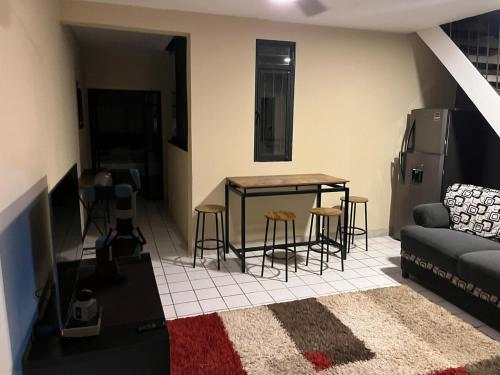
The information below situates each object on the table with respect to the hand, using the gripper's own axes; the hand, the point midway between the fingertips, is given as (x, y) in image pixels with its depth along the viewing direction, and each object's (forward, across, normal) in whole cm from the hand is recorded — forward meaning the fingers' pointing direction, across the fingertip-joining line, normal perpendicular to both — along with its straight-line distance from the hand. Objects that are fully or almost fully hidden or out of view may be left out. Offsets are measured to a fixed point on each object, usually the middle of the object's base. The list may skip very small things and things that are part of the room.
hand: (125, 258), depth 191 cm
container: (+28, -19, -1) cm, 34 cm away
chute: (+28, -19, -7) cm, 34 cm away
